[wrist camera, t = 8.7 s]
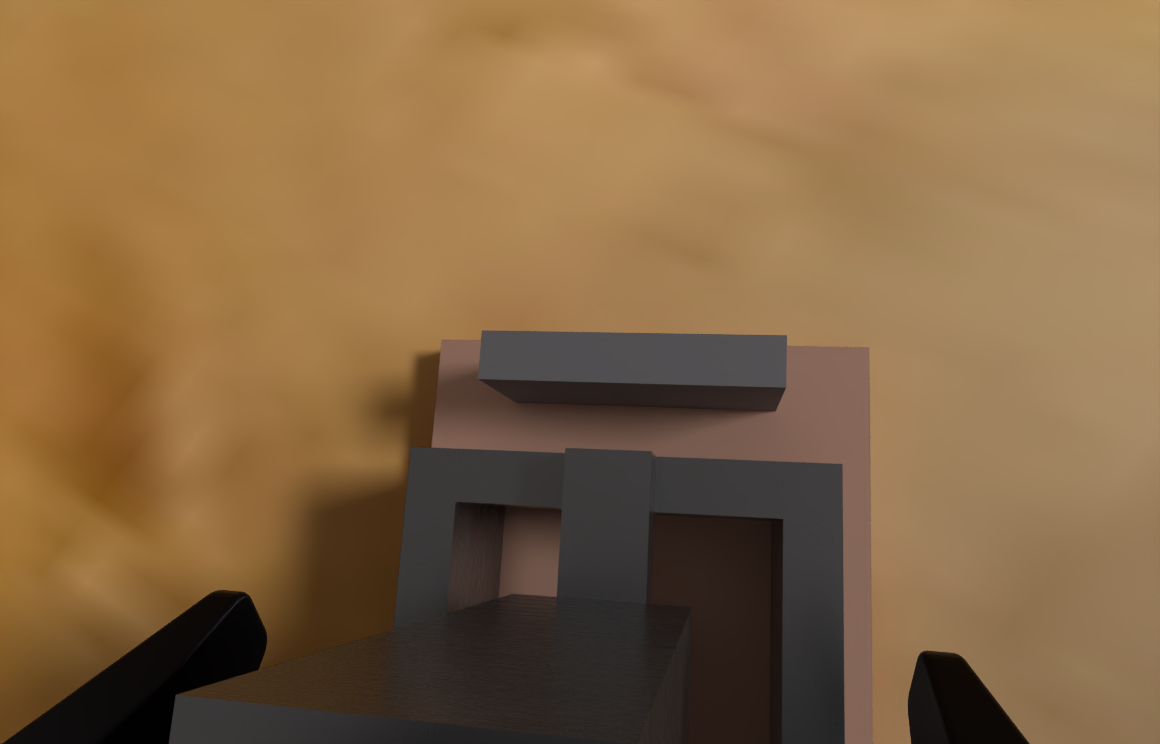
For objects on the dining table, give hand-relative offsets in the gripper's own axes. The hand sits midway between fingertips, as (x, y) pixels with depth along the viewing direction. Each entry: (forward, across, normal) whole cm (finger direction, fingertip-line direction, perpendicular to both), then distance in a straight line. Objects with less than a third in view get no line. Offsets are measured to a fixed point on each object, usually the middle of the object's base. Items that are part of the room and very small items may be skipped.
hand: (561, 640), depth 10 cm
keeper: (+5, 0, +7) cm, 9 cm away
